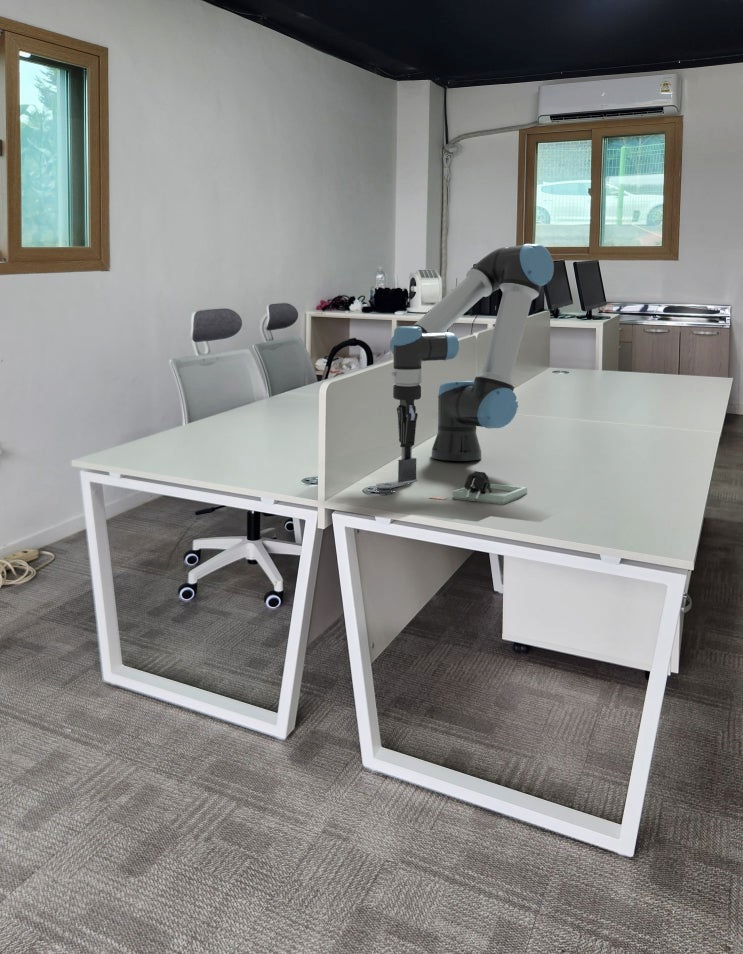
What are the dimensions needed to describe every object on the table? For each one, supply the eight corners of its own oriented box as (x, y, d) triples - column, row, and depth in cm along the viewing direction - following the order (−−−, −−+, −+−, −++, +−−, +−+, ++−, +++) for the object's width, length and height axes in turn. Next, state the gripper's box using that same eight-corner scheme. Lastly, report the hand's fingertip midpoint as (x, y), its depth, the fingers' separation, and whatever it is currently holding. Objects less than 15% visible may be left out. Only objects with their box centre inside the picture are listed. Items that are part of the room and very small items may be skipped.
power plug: (501, 490, 224) (487, 468, 215) (493, 516, 221) (478, 495, 212) (481, 487, 227) (466, 465, 218) (473, 513, 224) (457, 492, 215)
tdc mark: (431, 497, 222) (431, 496, 222) (445, 499, 220) (445, 498, 220) (429, 498, 221) (429, 497, 221) (443, 500, 219) (443, 499, 219)
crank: (384, 489, 225) (384, 464, 224) (373, 488, 228) (373, 462, 227) (419, 483, 237) (420, 458, 236) (408, 481, 239) (408, 457, 238)
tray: (478, 489, 234) (478, 482, 234) (527, 494, 227) (527, 487, 227) (452, 498, 221) (452, 490, 221) (503, 504, 214) (503, 496, 213)
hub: (378, 489, 233) (379, 486, 233) (401, 492, 230) (401, 488, 229) (365, 493, 227) (365, 489, 227) (388, 495, 224) (388, 492, 224)
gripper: (388, 382, 238) (387, 465, 243) (399, 387, 226) (399, 475, 231) (414, 381, 240) (413, 464, 245) (427, 386, 228) (425, 473, 233)
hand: (406, 469), depth 238 cm, fingers closed
